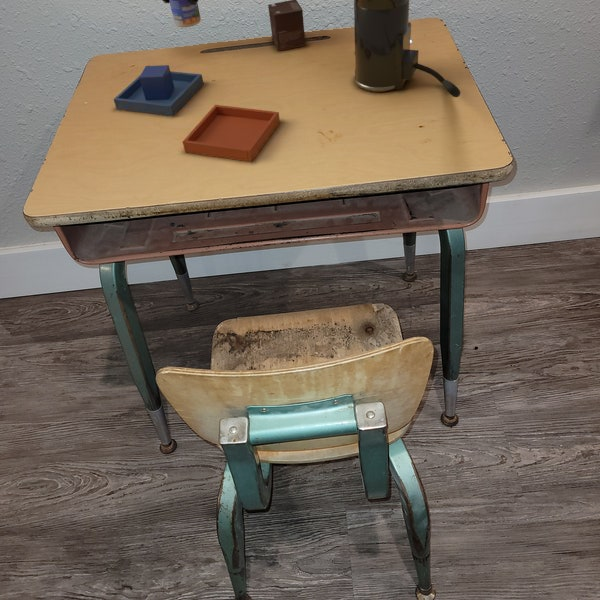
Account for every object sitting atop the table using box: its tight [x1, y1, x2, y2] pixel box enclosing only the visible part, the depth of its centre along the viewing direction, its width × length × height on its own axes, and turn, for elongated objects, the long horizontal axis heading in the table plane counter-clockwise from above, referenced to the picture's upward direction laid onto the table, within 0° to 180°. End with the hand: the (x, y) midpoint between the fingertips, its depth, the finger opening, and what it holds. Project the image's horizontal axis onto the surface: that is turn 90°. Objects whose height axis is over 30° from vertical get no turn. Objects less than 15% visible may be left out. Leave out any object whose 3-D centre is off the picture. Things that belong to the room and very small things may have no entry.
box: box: [267, 0, 306, 51], centre depth 122 cm, size 6×6×7 cm
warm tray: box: [182, 104, 281, 163], centre depth 100 cm, size 12×12×2 cm
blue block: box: [138, 64, 174, 100], centre depth 111 cm, size 4×4×4 cm
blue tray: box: [112, 70, 204, 117], centre depth 112 cm, size 12×12×2 cm
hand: (178, 1), depth 117 cm, fingers closed on pill bottle, 5 cm apart
